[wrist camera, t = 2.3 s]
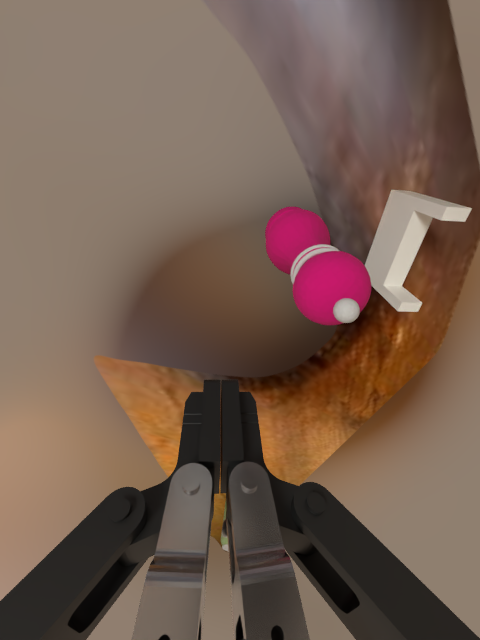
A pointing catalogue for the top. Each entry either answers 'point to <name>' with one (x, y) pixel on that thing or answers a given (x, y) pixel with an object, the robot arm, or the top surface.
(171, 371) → the top surface
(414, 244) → the u rest
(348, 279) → the pepper mill
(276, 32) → the top surface
